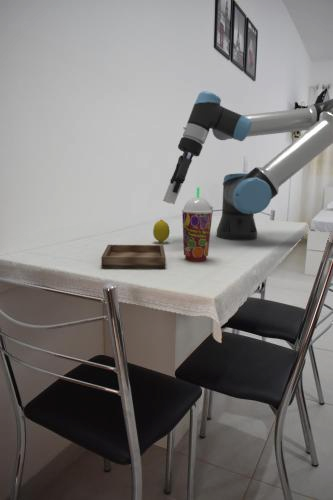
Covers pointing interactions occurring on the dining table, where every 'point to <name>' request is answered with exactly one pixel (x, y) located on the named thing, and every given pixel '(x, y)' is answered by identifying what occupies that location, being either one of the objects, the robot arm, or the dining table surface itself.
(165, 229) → the lemon
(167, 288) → the dining table surface
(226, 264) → the dining table surface
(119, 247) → the walnut tray
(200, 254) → the smoothie
